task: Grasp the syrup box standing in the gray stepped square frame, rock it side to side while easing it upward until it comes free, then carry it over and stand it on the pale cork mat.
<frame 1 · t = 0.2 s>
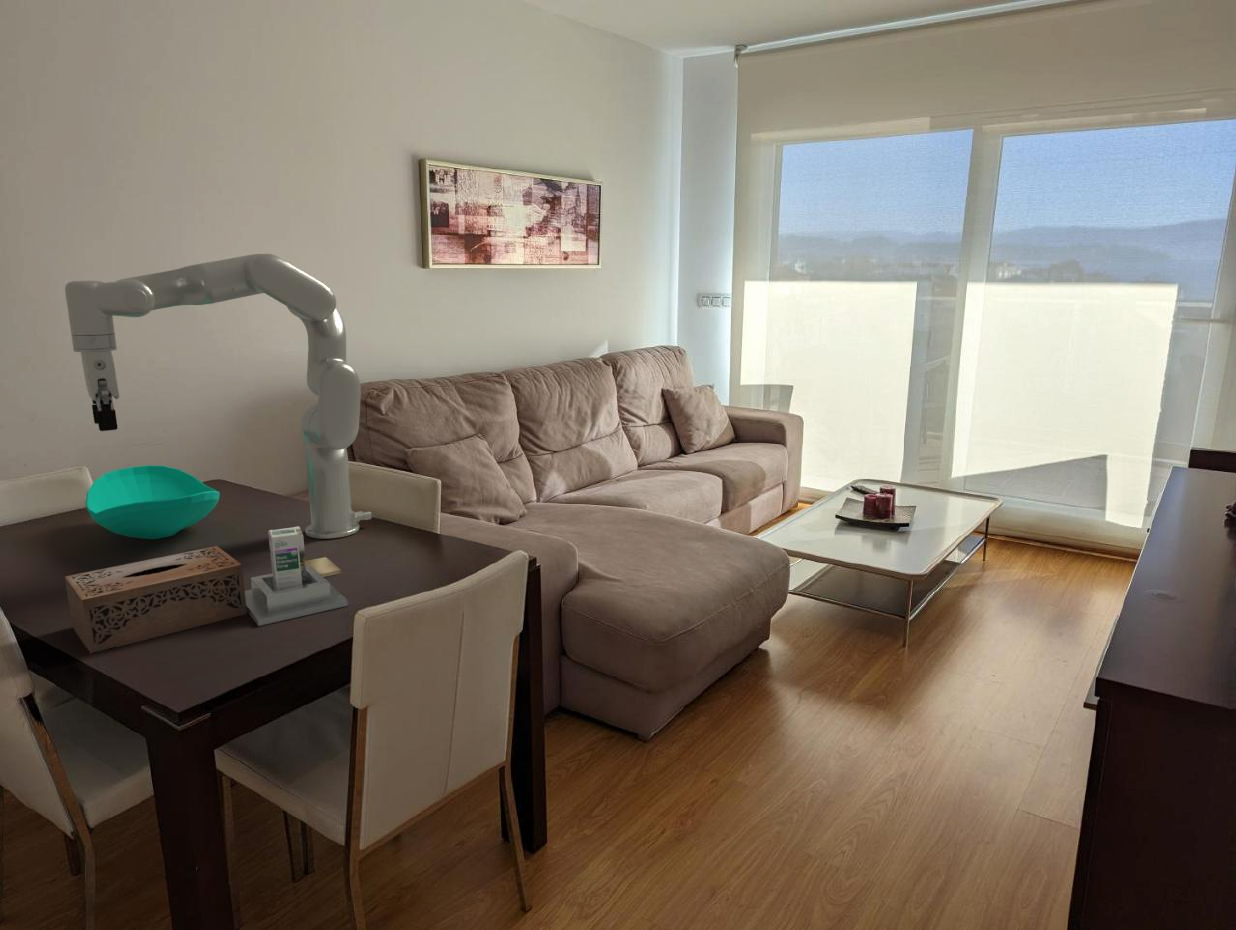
hand: (105, 426, 177), 31 cm above the table, fingers open, 9 cm apart
syrup box: (291, 603, 166), resting in gray stepped square frame
cork mat: (310, 571, 183), on the table
gray stepped square frame: (291, 601, 166), on the table
tissue box cover: (161, 622, 158), on the table
table top decor: (158, 535, 207), on the table
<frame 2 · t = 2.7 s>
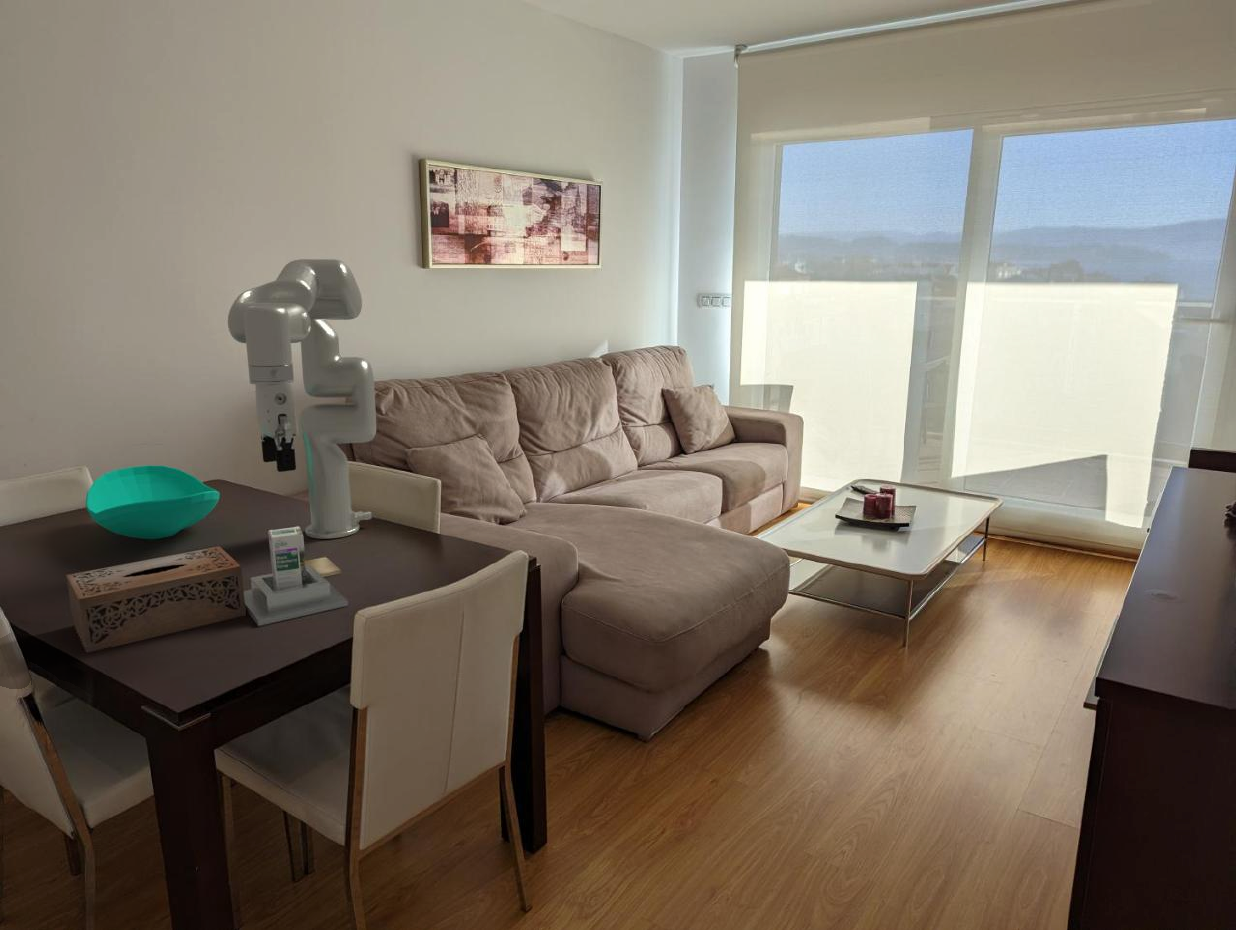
hand: (279, 465, 160), 27 cm above the table, fingers open, 9 cm apart
nothing on the table moved.
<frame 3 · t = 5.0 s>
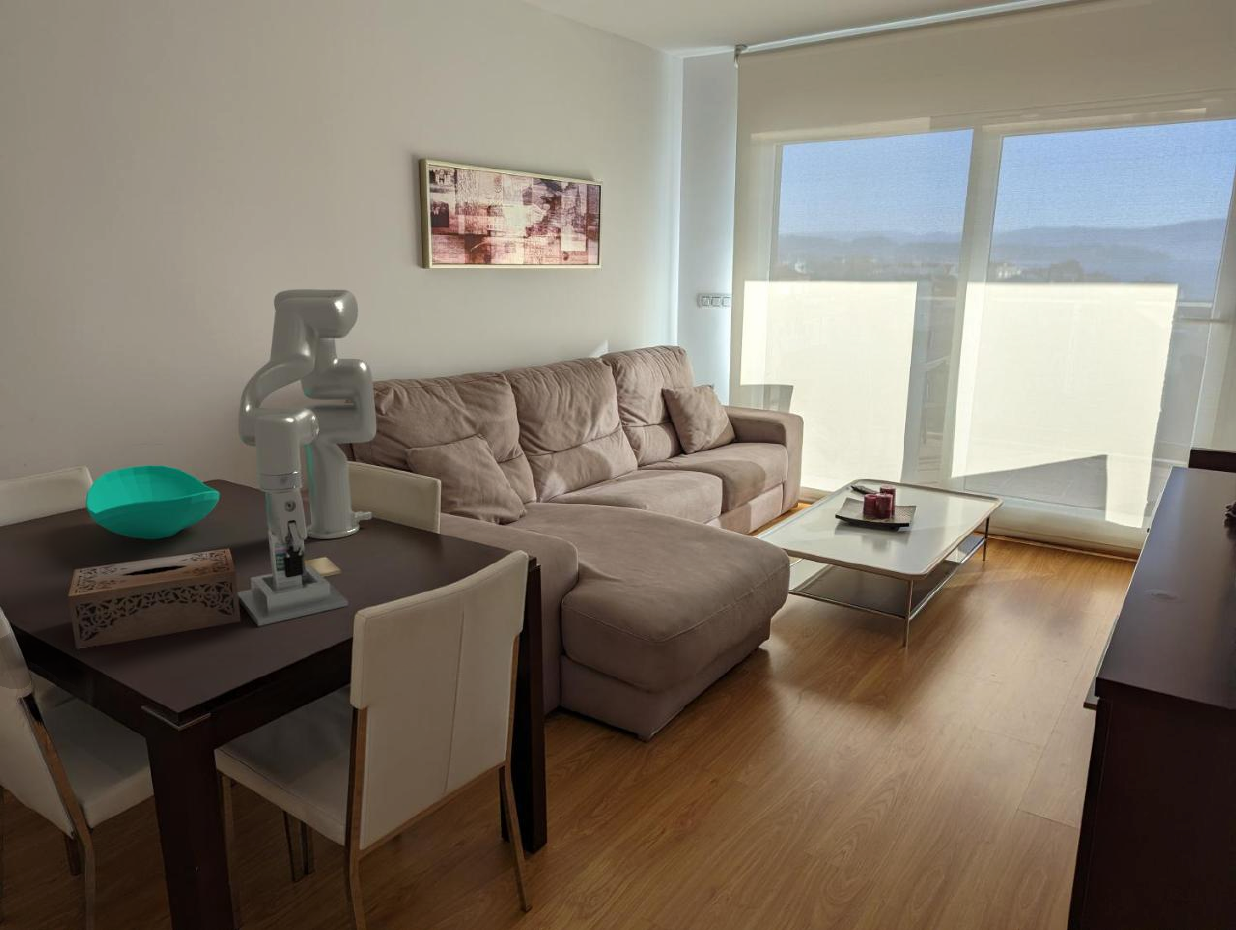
hand: (288, 569, 165), 7 cm above the table, fingers closed on syrup box, 6 cm apart
syrup box: (291, 603, 166), resting in gray stepped square frame, touching gripper
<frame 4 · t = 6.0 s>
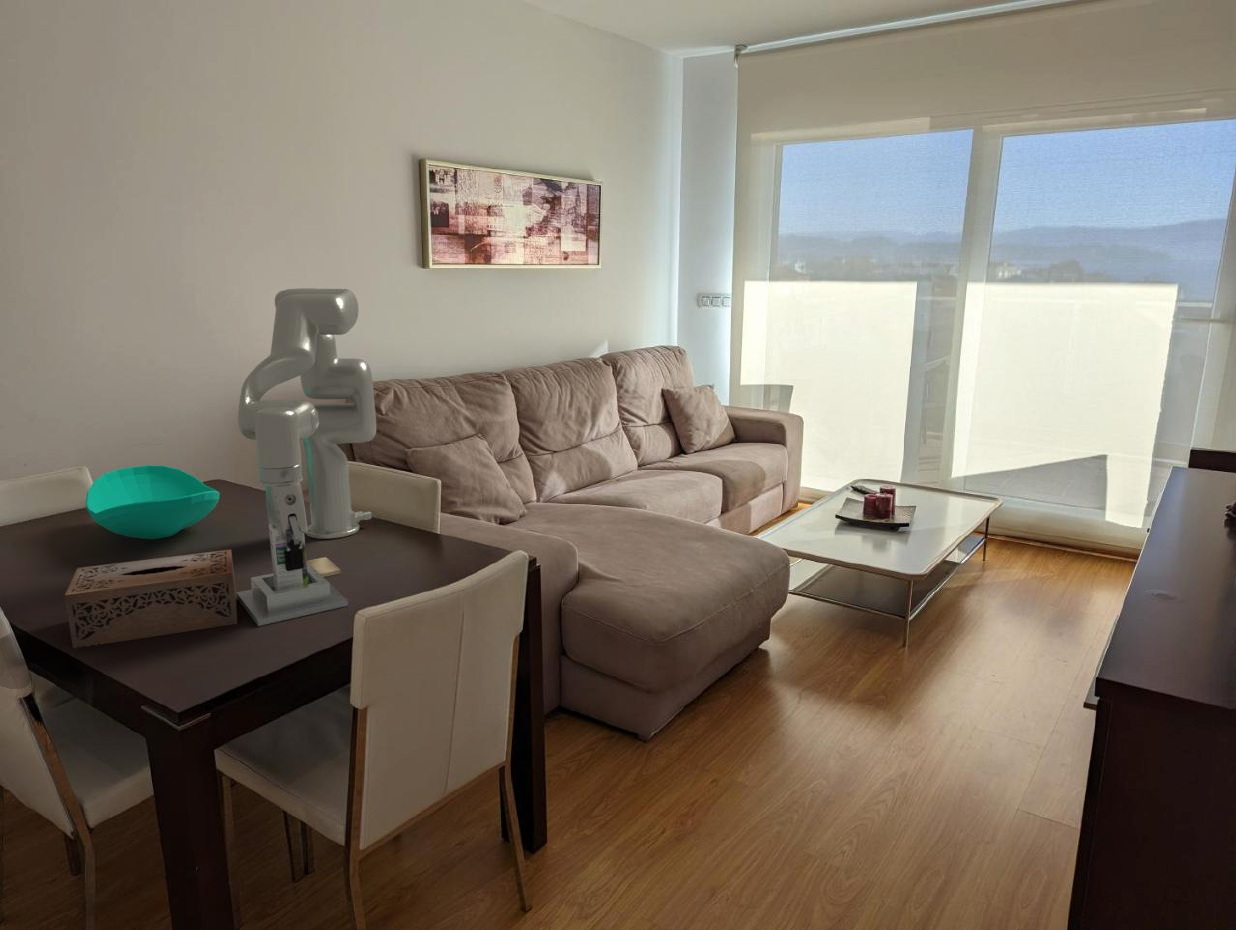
hand: (289, 563, 164), 8 cm above the table, fingers closed on syrup box, 6 cm apart
syrup box: (292, 596, 166), point 1 cm above the table, touching gripper
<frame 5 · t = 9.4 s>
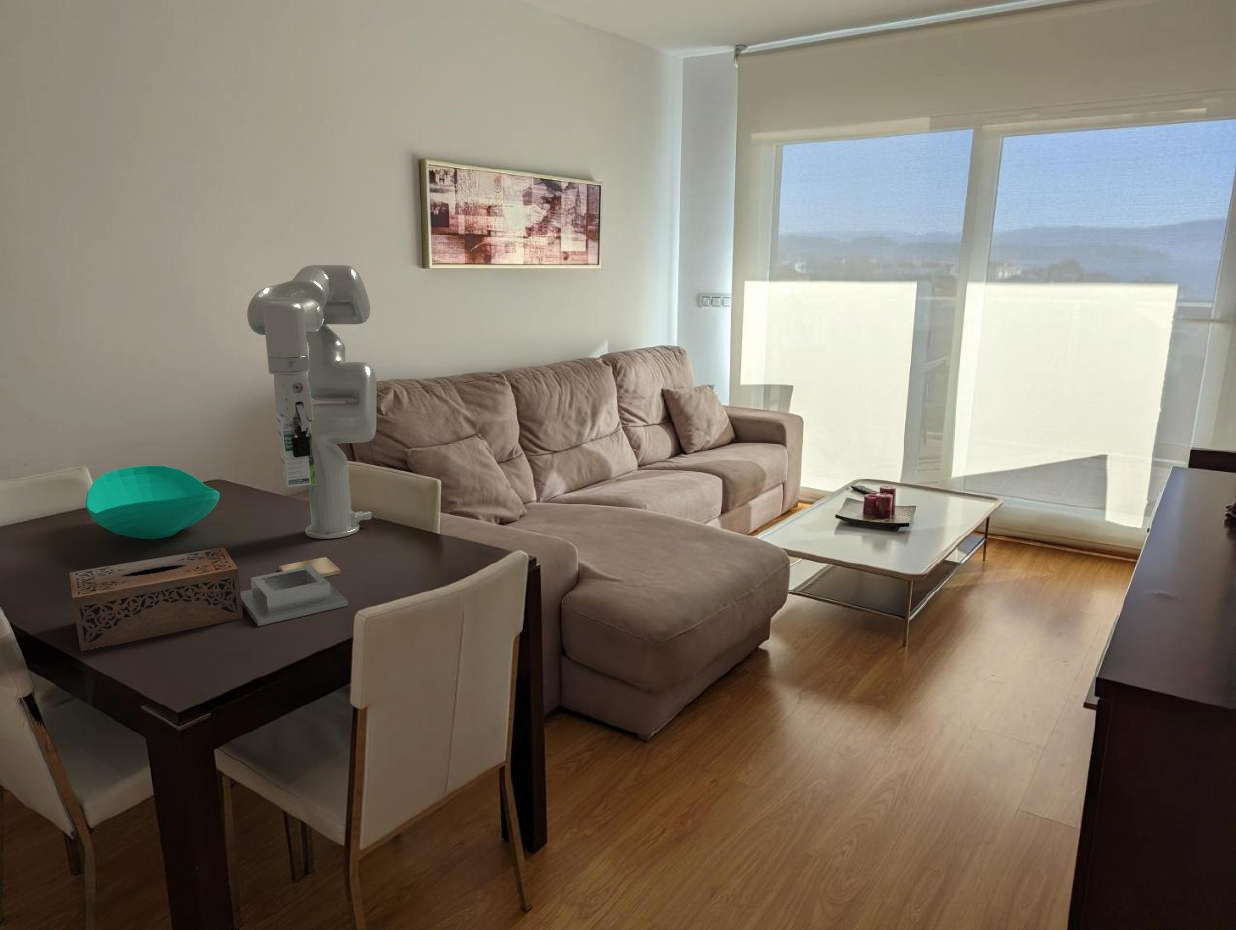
hand: (296, 451, 174), 27 cm above the table, fingers closed on syrup box, 6 cm apart
syrup box: (299, 484, 175), point 20 cm above the table, touching gripper
when the fingers open (8 cm above the table, at t = 13.9 s): syrup box drops 1 cm, resting on cork mat.
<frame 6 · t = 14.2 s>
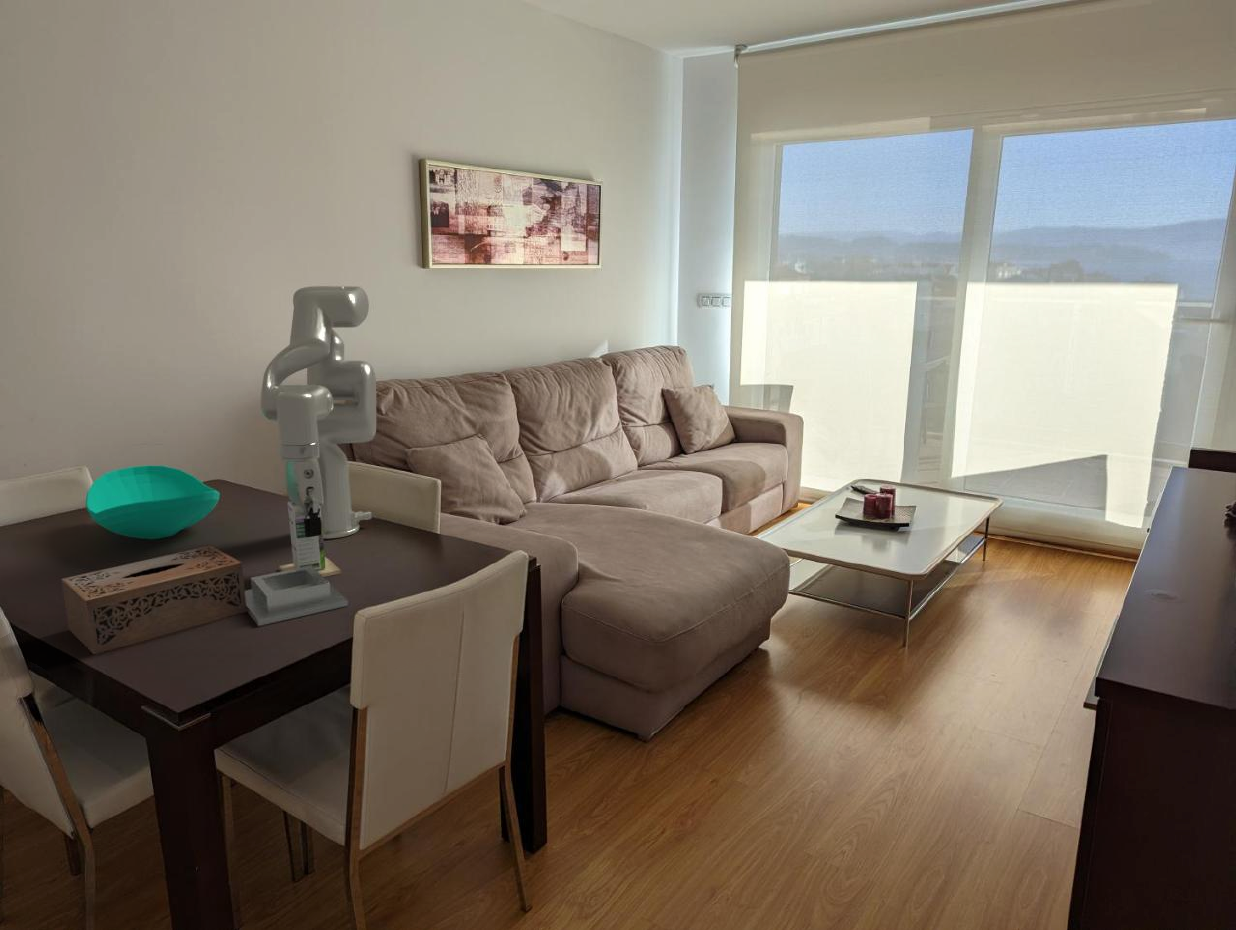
hand: (306, 530, 180), 9 cm above the table, fingers open, 9 cm apart
syrup box: (309, 568, 183), point 1 cm above the table, touching cork mat
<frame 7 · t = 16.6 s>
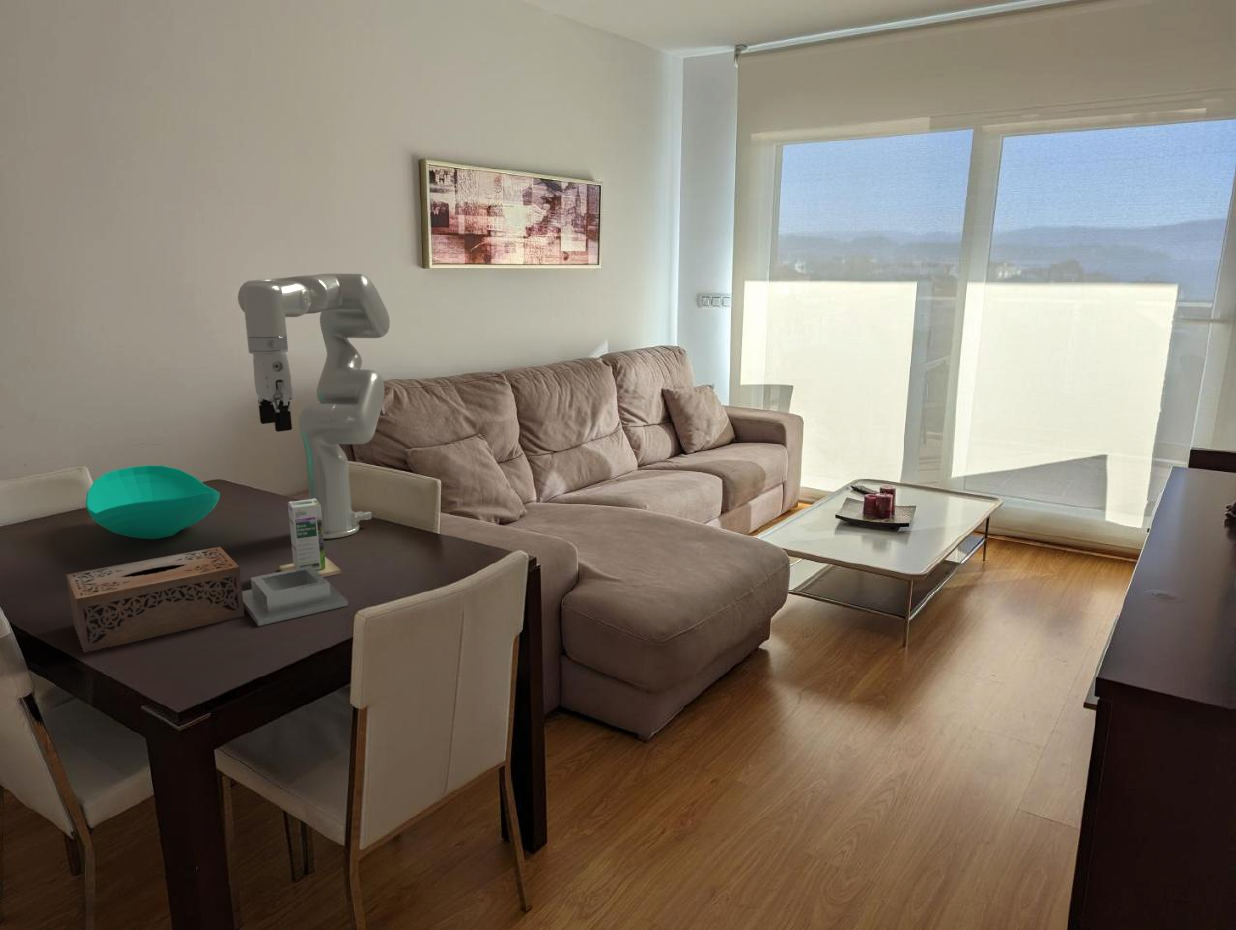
hand: (276, 426, 179), 31 cm above the table, fingers open, 9 cm apart
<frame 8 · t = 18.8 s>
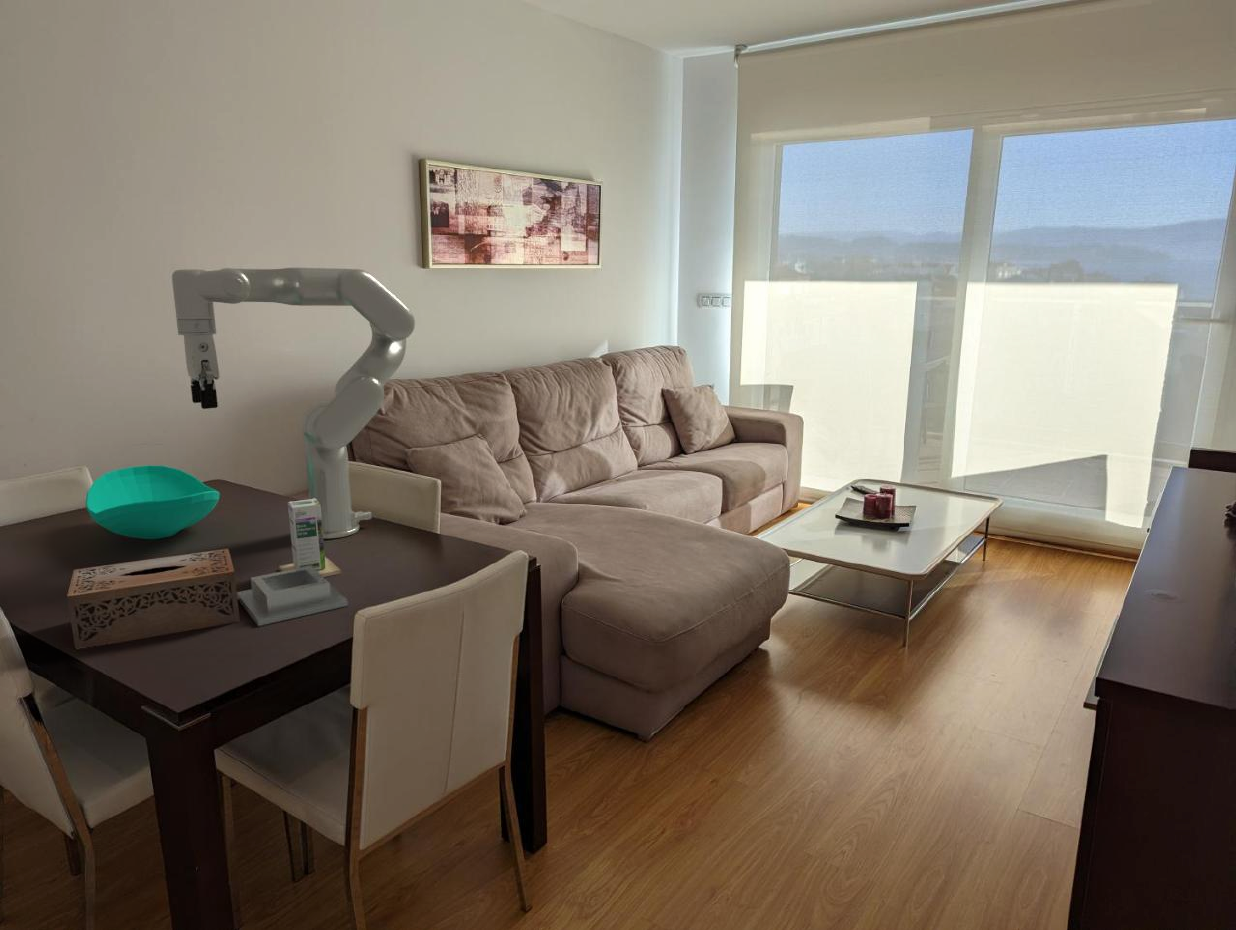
hand: (205, 405, 190), 33 cm above the table, fingers open, 9 cm apart
at the end: syrup box inside the target area on the cork mat (0.4 cm from its centre), point 0.6 cm above the cork mat's base; syrup box tilted 0°; the gripper is holding nothing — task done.
